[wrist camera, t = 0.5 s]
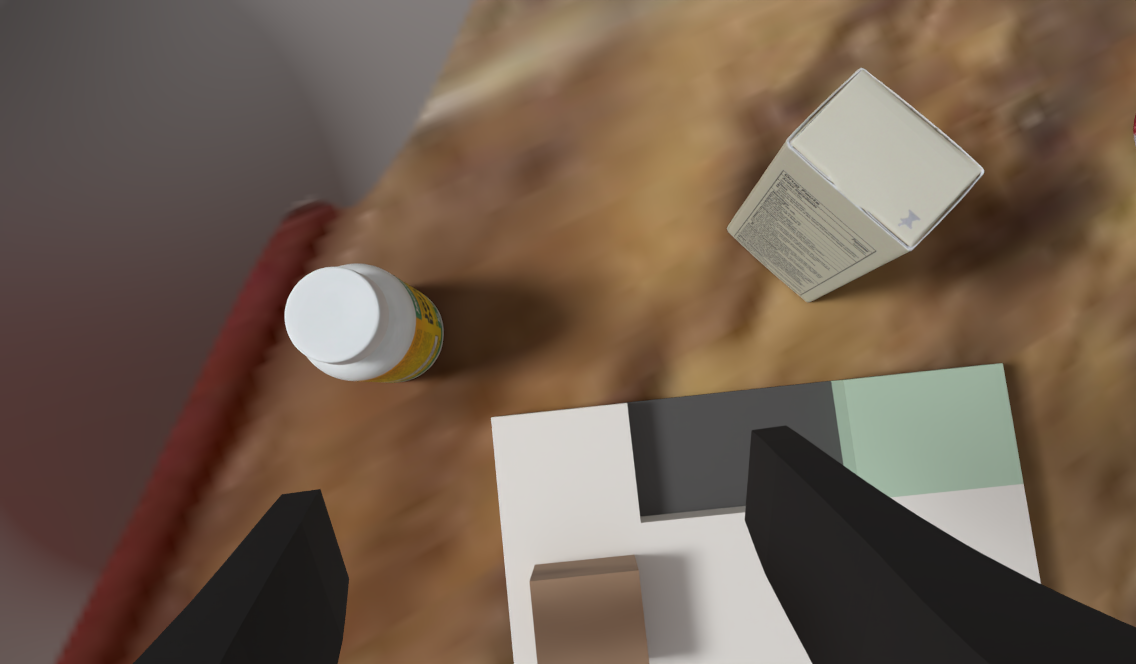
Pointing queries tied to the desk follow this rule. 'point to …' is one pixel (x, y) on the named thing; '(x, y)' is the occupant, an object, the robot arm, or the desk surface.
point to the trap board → (719, 487)
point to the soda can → (1134, 130)
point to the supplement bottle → (363, 324)
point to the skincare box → (852, 189)
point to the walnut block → (589, 612)
